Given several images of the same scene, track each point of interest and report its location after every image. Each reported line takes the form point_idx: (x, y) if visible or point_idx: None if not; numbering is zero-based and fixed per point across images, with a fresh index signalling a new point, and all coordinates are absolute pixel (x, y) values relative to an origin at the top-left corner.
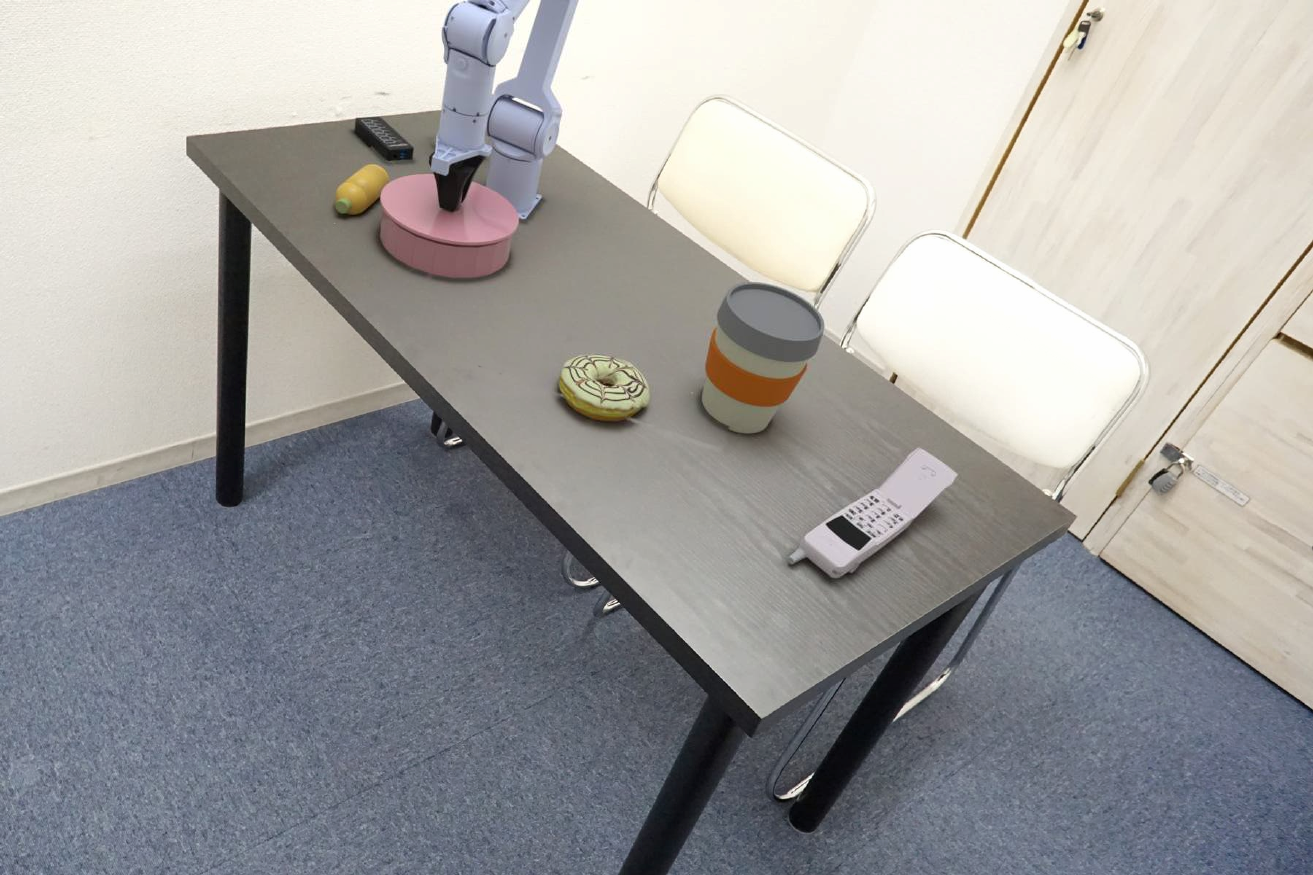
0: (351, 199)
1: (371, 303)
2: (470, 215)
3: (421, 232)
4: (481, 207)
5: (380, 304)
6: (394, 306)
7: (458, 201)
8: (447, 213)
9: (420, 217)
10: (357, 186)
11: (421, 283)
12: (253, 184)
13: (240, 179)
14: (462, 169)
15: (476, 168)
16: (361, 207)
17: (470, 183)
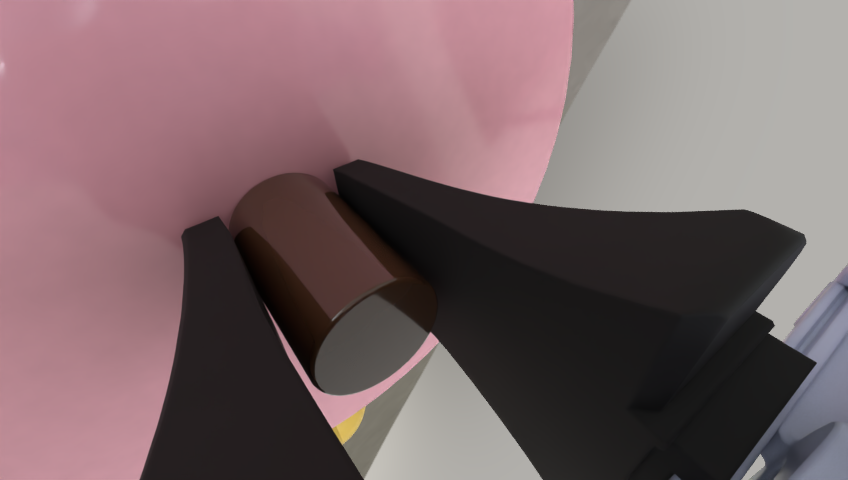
0: None
1: (579, 54)
2: (273, 79)
3: (560, 116)
4: (43, 110)
5: (578, 36)
6: (577, 4)
7: (398, 179)
8: None
9: None
10: (339, 429)
11: None
12: (359, 456)
13: (361, 467)
14: (756, 305)
15: (335, 438)
16: None
17: (215, 316)
